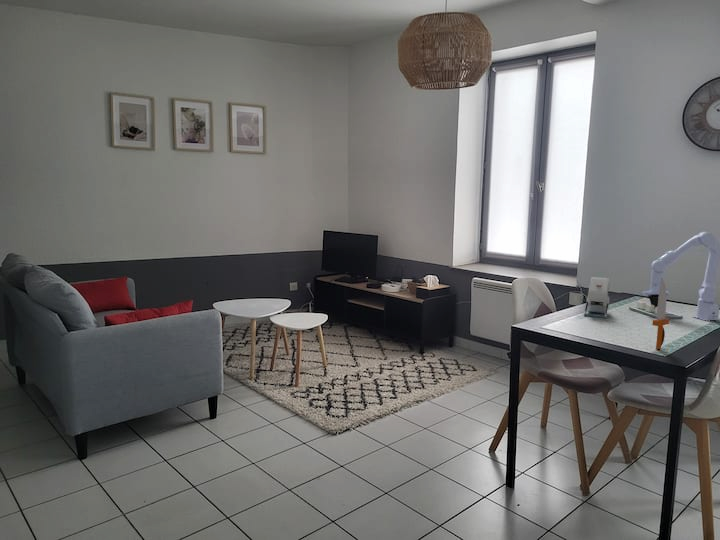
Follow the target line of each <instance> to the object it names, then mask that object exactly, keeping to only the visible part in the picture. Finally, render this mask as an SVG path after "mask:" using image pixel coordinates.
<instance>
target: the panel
mask: <svg viewBox="0 0 720 540" xmlns="http://www.w3.org/2000/svg"><path fill="white" fill-rule="evenodd" d="M628 310H630V311H631V312H635V313H638V314H641V315H644V316H647V317H650V318H653V319H655V320H656V319H657V314H655V309H654V312H648V311H645V309H639V308H637V306H633V307H631V306H630V307H628ZM665 318H666V319H669V320H681V319H682V318H683V319H684V316H683V315H679V314H676V313H674V312H671V311H666V312H665Z"/></svg>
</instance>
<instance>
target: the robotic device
mask: <svg viewBox="0 0 720 540" xmlns="http://www.w3.org/2000/svg"><path fill="white" fill-rule="evenodd" d="M609 289H610V278H608V277H607V278H606V277H596V276H595V277H594V276H592V277H591V278H590V283H589V288H588V291H587V292H588V293H587V297H586V303H585V308H584V312H583V317H594V318H601V319H607V313H608V310H609V305H610V300H611V299H610V296H609ZM587 310H588V313H587ZM591 313H594V314H591ZM599 314H600V315H599ZM601 314H604V315H601Z"/></svg>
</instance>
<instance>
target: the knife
mask: <svg viewBox="0 0 720 540" xmlns="http://www.w3.org/2000/svg"><path fill="white" fill-rule="evenodd" d="M666 291H667V288H666V284H665V280H664V277H663V278H662V277H661V283H660V290H659V297H658V306H657V307H658V308H657V319H656V318H655V319H653V320H652V324H651V325H652V326H655V327H657V330H656V331H657V332H656V333H657V335H656V342H655V343H656V344H655V350H656V349H661V350H662V345H664V342H665V335H666V334H665V328H664V326H665V325H668V324H670V319H666V318H665V312H666V310H667V295H666Z"/></svg>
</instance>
